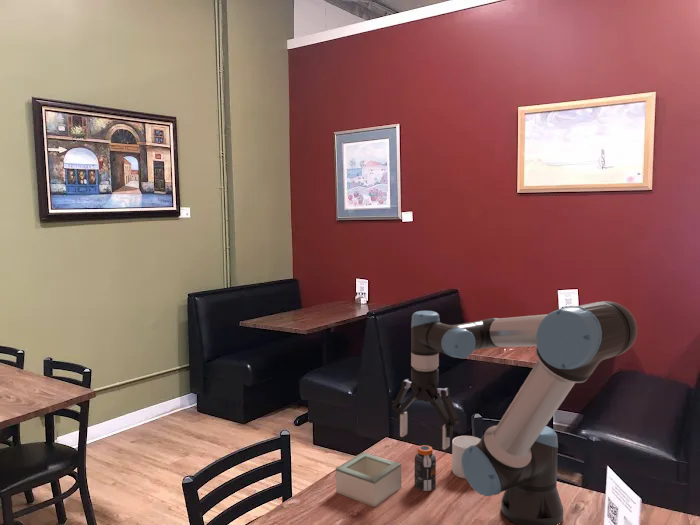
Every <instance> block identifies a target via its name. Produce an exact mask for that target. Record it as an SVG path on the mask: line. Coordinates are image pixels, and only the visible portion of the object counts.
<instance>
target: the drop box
mask: <svg viewBox="0 0 700 525" xmlns="http://www.w3.org/2000/svg"><path fill="white" fill-rule="evenodd" d="M401 488H402V463H400V462H398V461H394V460H390V459H388V458H385V457H382V456H379V455H375V454H373V453H369V452H366V451H362V452H361V453H359V454H357V455H356V456H354V457H353V458H351V459H349V460H348V461H346V462H344V463H342V464H341V465H339V466H338V467H336V468H335V492H336V494H339V495H342V496H344V497H346V498H349V499H351V500H352V499H353V500H355V501H357V502H360V503H361V504H362V503H363V504H364V505H368V506H369V507H373V508H376V507H377V506H379V505H380V504H381V503H383V502H384V501H385V500H387V499H389V497H391V496H392V495H394V493H396V492H398V491H399V490H400V489H401Z"/></svg>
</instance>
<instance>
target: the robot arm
mask: <svg viewBox="0 0 700 525" xmlns="http://www.w3.org/2000/svg"><path fill="white" fill-rule="evenodd" d="M440 321H441V320H440V314H439V313H438V312H436V311H433V310H419V311H415V312H414V313H412V315H411V326H410V328H411V330H410V331H411V332H410V333H411V334H410V336H411V339H410V340H411V341H410V342H411V345H410V346H411V348H410V349H411V351H410V356H411V357H410V358H411V359H410V362H411V363H410V366H411V369H410V379H411V381H410V379H409V378H405V379H404V380H402V381H401V383H400V389H399V391H398V392H397V395H396V397H395V399H394V401H393V403H392V405H391V409H392V411H395V412H396V413H397V423H398V424H399V437H401V438H403V437H405V436H406V435H408V411H406V410H407V409H408V408H409V407H410V405H412V403H413V402H414V401H416V399H417V400H418V401H423V402H424V403H425V402H426V403H429V404H430V405H432V406H433V407H434V409H435V411H436V412H437V414H438V416H439V417H440V419H441V421H442V422H443V423H444V424H443V425H442V448H441V449H442V450H447V449H449V447H450V444H451V442H450V441H451V437H453V435H454V434H453V432H454V430H453V429H454V427H455V426H457V425H458V424H460V419H459V416H458V413H457V410H456V409H455V406H454V403H453V401H452V399H451V396H450V388H448V387H445V388H441V387H439V374H440V372H439V370H440V369H439V368H438V367H439V366H440V364H439V363H440V358H439V356H440V353H441V354H444V355H447V356H449V357H452V358H457V359H467V358H469V356H470V355H472V354H473V352H474V351H477V350H482V349H483V350H484V349H489V348H515V347H520V348H521V347H536V349H535V353H536V357H537V361H536V363H535V364H534V366H533V368H532V369H531V371H530V372H529V374H528V376H527V377H526V379H525V380H524V382H523V384H522V385H521V386H520V388H519V390H518V392H517V393H516V394H515V396H514V398H513V400H512V402H511V403H510V404H509V405H508V408H507V409H506V410H505V413H504V414H503V415H502V417H501V419H500V421H499V422H498V424H497V425H491V426H490V427H488V428H487V429H486V430H485V432H484V433H483V435H482V436H481V438H480V439H481V440H480V441H479V443H478V444H476V445H474V446H473V445H472V446H469V447H468V448H467V449H465V450H464V452H463V454H462V468H463V472H464V475H465V477H466V479H465V480H466V481H467V482H468V484H469V485H470V487H471V488H472V489H473V490H474V491H475V492H476V493H478V494H479V495H480V496H481V495H482V496H483V497H491V496H496V495H500V493H503V495H502V497H501V502H500V509H501V510H500V511H501V513H502V514H503V516H504V517H505V519H507V520H508V521H510V522H511V523H513V524H515V525H557V524H559V523H560V522H561V521H562V519H563V520H564V506H563V503H562V501H561V500H562V499H561V497H560V493H559V491H558V487H557V486H558V485H557V484H558V481H557V480H558V448H559V444H558V443H559V442H558V434H557V433H556V431H555V430H554V429H553V428H552V427H550V426H547V425H548V424H549V422H550V421H551V419H552V418H553V416H554V415H555V414H556V412H557V410H558V409H559V408H560V406H561V405H562V403H563V402H564V401H565V399H566V397H567V396H568V394H569V393H570V391H571V390H572V388H574V386H575V384H582V383H585V382H586V381H587V380H589V378H590V377H591V375H593V373H594V371H595V370H596V369H597V367H598V365H599V364H601V362H602V361H604V360H607V359H611V358H614V357H618V356H621V355H622V354H625V353H626V352H628V351H629V350H630V349H631V348H632V347H633V346H634V343H635V342H636V339H637V336H638V324H637V321H636V318H635V317H634V315H633V313H632V312H631V311H630V310H629V309H628V308H626V307H625V306H624V305H622V304H620V303H618V302H614V301H608V300H605V301H604V300H602V301H596V302H590V303H585V304H581V305H570V306H569V305H568V306H564V307H560V308H559V309H557V310H553V311H552V312H549V313H548V314H536V315H525V316H524V315H523V316H514V317H513V316H511V317H502V318H498V317H492V318H491V317H490V318H485V319H481V320H476V321H470V322H465V323H464V322H463V323H458V324H448V323H447V324H446V323H443V322H440ZM409 389H411V391H412V393H411V394H410V395H409V396H408V398H407V399H406V400H405V396H406V395H407V393H408V391H409ZM438 394H439V395H438ZM404 400H405V401H404ZM403 401H404V402H403ZM562 522H563V521H562ZM562 522H561V523H562ZM561 523H560V524H561ZM560 524H559V525H560Z"/></svg>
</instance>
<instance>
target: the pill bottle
mask: <svg viewBox="0 0 700 525" xmlns="http://www.w3.org/2000/svg"><path fill="white" fill-rule="evenodd" d="M436 460H437V458H436V456H435V454H434V453H433V447H432V446H430V445H427V444H426V445H423V444H422V445H419V446H418V448H417V453H416V454H415V455H414V487H415V488H416V489H417V490H419V491H423V492H429V491H433V490H435V489H436V487H437V486H436V485H437V482H436V481H437V480H436V478H437V474H436V473H437V468H436V467H437V461H436Z"/></svg>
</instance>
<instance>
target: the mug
mask: <svg viewBox="0 0 700 525" xmlns="http://www.w3.org/2000/svg"><path fill="white" fill-rule="evenodd" d="M480 440H481V438H479V437H477V436H474V435H473V436H472V435H460V436H459V435H458V436H456V437H454V438H453V439H452V441H451V442H452V445H451V446H452V447H451V448H452V449H451V450H452V451H451V453H452V456H451V458H452V459H451V460H452V462H451V471H452V473H453V475H454V476H456V477H458V478H461V479H465V480H467V479H466V477H465V475H464V472H463V468H462V454H463V452H464V450H465V449H467V448H468V447H469V446H472V445H473V446H474V445H476V444H478V443H479V441H480Z"/></svg>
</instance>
